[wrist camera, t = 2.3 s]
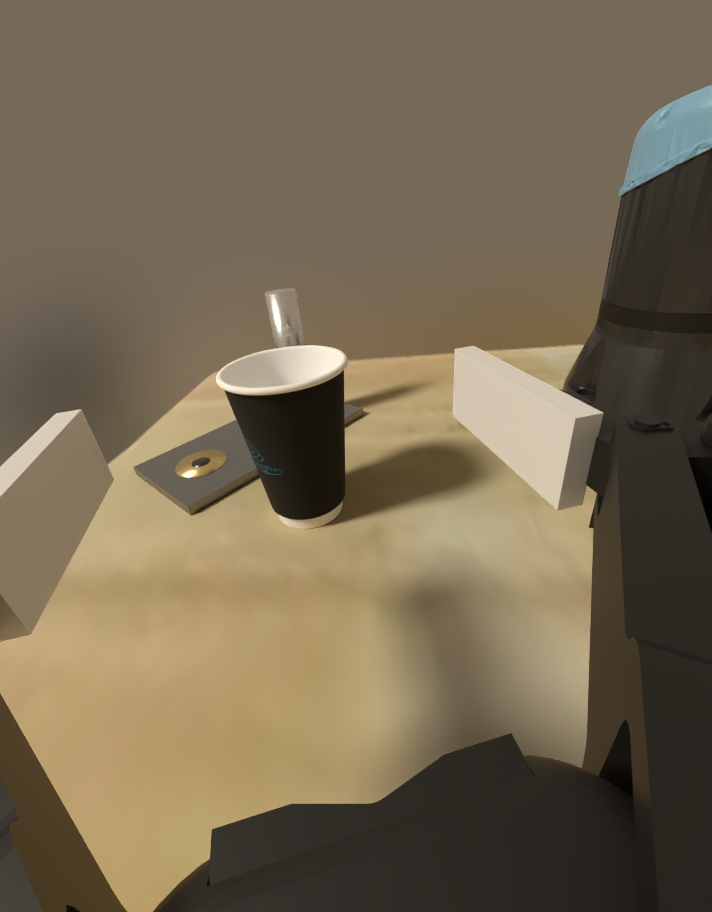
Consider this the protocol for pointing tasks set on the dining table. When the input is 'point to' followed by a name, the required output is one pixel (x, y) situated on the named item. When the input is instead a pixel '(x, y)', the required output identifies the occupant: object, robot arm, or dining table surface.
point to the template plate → (208, 466)
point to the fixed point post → (285, 317)
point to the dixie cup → (293, 427)
